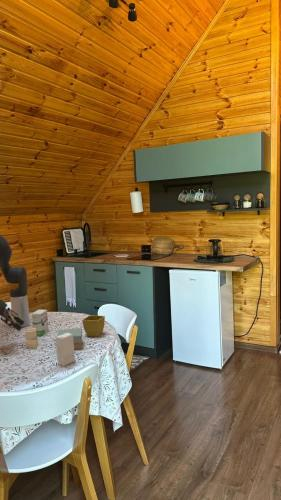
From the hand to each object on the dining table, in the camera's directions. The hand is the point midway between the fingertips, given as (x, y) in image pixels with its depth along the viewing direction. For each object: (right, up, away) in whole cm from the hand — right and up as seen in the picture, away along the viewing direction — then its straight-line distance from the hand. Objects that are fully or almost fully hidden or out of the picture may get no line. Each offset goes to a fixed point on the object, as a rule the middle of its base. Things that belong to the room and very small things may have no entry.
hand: (22, 326), depth 178 cm
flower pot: (+33, -7, +13) cm, 36 cm away
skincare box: (+25, -12, -19) cm, 33 cm away
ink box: (+4, -8, +20) cm, 22 cm away
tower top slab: (+23, -6, -1) cm, 24 cm away
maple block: (+4, -10, +2) cm, 11 cm away
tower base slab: (+23, -10, -1) cm, 25 cm away
